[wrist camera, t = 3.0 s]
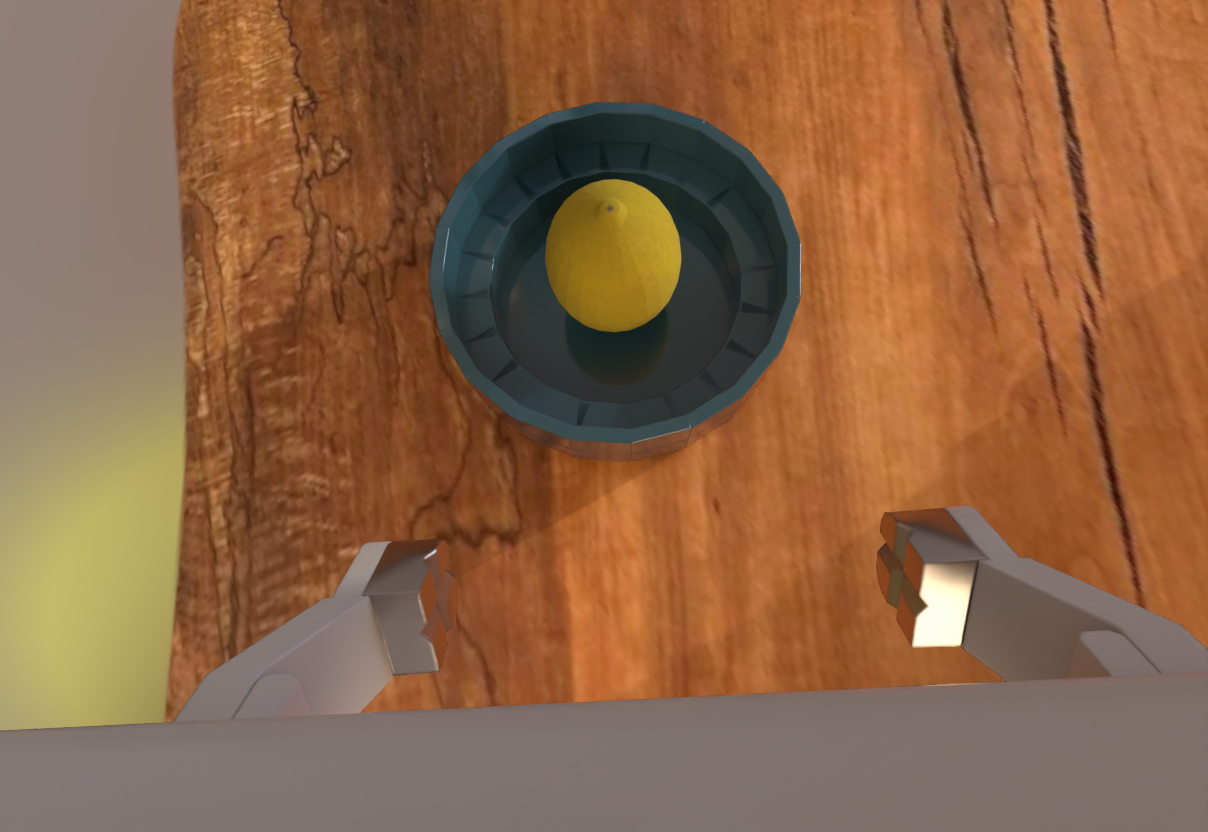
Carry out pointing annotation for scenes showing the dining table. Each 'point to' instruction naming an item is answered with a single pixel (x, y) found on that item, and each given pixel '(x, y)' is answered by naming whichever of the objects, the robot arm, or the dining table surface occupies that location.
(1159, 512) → the dining table surface
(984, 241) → the dining table surface
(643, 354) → the bowl
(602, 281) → the lemon
